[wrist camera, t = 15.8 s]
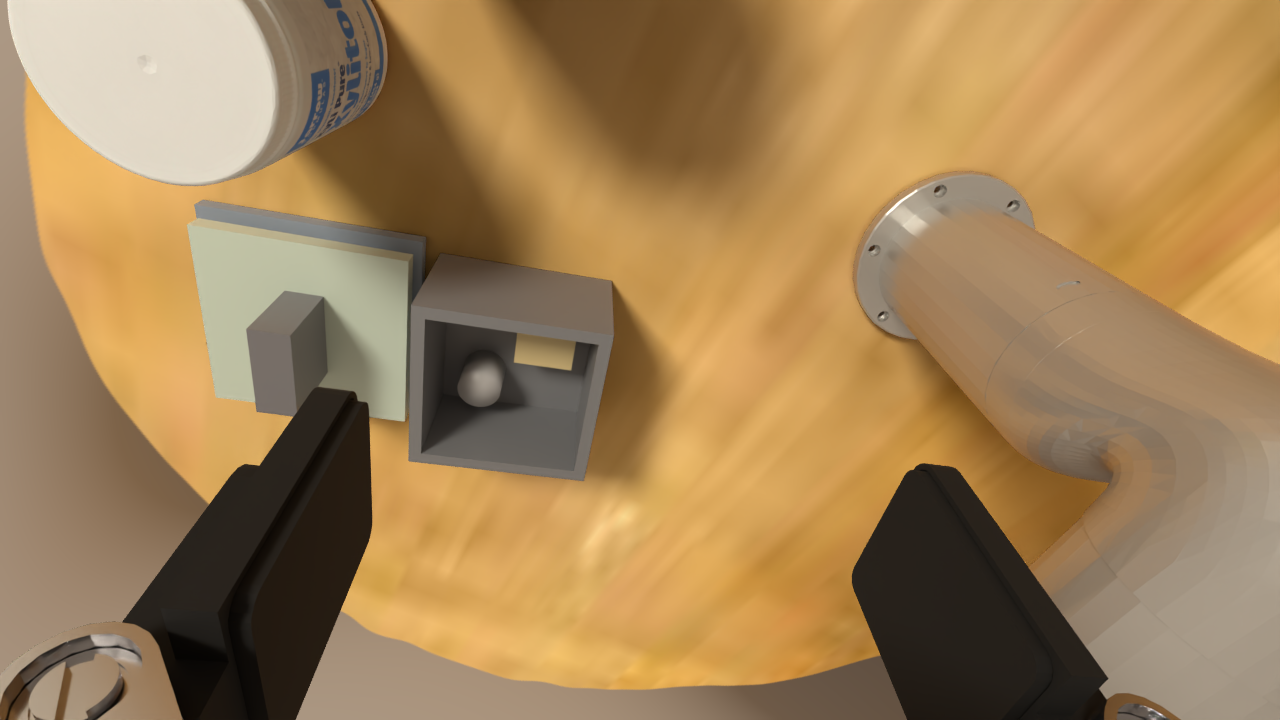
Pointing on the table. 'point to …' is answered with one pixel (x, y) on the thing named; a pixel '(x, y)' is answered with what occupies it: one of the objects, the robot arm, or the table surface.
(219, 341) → the lid
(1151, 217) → the table surface
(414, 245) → the mat
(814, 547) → the table surface
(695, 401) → the table surface
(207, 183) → the supplement tub
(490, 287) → the parts tub
